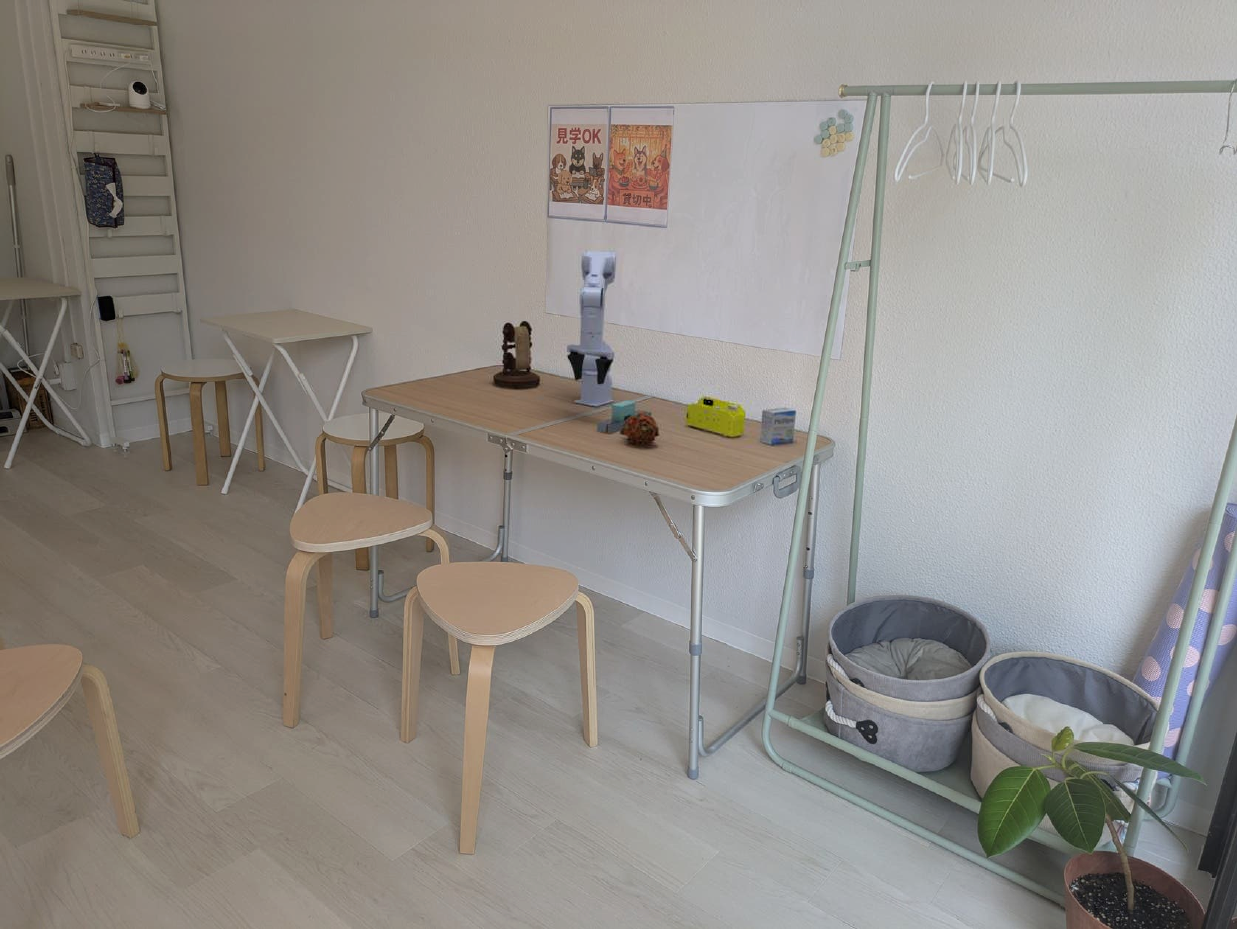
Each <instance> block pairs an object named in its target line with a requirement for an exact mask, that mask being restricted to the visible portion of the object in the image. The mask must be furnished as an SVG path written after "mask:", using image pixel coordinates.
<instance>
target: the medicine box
mask: <svg viewBox="0 0 1237 929" xmlns="http://www.w3.org/2000/svg"><path fill="white" fill-rule="evenodd" d="M796 414H797V411H796V410H795V409H792V408H790V407H778V408H769V409H762V413H761V424H760V432H759V433H760V434H759V436H760V437H759V441H760V442H762V443H764V444H767V445H769V446H776V445H775V444H777V445H781V444H789V442H790V443H793V442H794V435H795V426H796V425H795V424H796Z"/></svg>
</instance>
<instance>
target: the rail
mask: <svg viewBox="0 0 1237 929" xmlns="http://www.w3.org/2000/svg"><path fill="white" fill-rule="evenodd" d="M638 413H644V414H648V415H650V417H652V411H646V410H643V409H636V410H635V416H636V415H637V414H638ZM635 416H634V417H635ZM628 418H629V417H625V416H624V420H622V421H618V420H613V419H612V418H608V419H605V420H601V421H599V422H597V423H596V431H597V432H599V433H603V432H604V433H603V434H608V435H612V434H614V433H616V432H620V429H623V428H625V425H624V424H625V422H626V420H627V419H628ZM622 425H624V426H622Z"/></svg>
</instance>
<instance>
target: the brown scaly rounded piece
mask: <svg viewBox="0 0 1237 929" xmlns="http://www.w3.org/2000/svg"><path fill="white" fill-rule="evenodd" d="M624 425H625V428H623V429H620V431H619V434H620V436H621V435H623V436H626V437H627V441H628V442H629V443H630V444H634V445H635V444H637V445H640V446H647V445H648V444H650V443H651V444H652V443H654V441H655V440H656V438H657V437H658V436H660V432H659V431H660V430H659V426H658V425H657V422H656V420H655V418H653V417H652V416H651V417H650V415H648V414H644V413H638V414H637V415H636V416H635V417H633V416H632V417H629V418H628V419H627V420H626V422H625V424H624ZM624 425H622V426H624Z"/></svg>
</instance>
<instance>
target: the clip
mask: <svg viewBox="0 0 1237 929" xmlns="http://www.w3.org/2000/svg"><path fill="white" fill-rule="evenodd" d="M636 403H637V402H635V401H631V400H623V401H621V402H616V403H614V404H611V419H613V420H618V421H622V420H624V416H625V417H632V416H633V417H634V416H635V411H636V405H637V404H636Z"/></svg>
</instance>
